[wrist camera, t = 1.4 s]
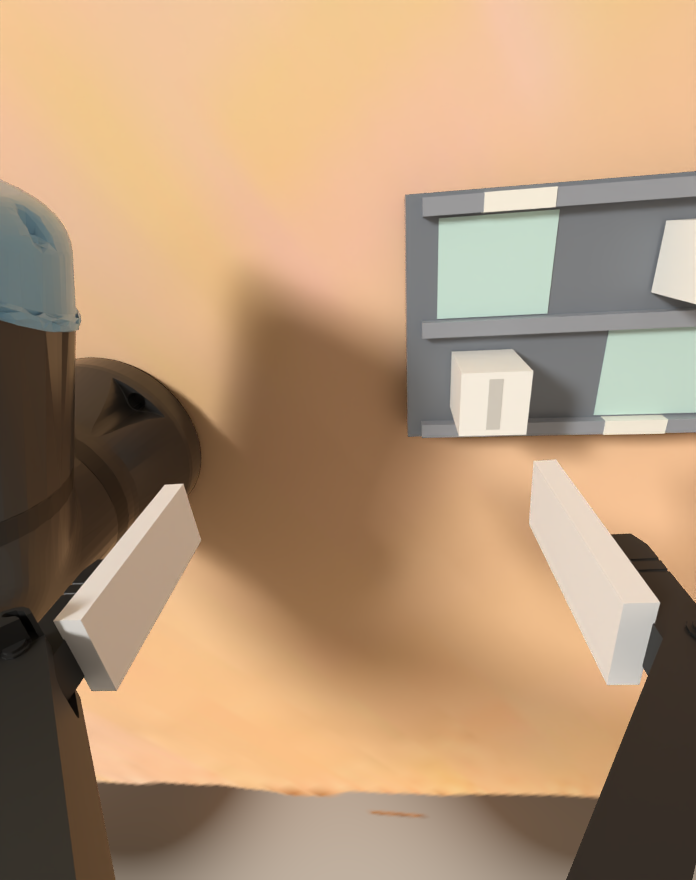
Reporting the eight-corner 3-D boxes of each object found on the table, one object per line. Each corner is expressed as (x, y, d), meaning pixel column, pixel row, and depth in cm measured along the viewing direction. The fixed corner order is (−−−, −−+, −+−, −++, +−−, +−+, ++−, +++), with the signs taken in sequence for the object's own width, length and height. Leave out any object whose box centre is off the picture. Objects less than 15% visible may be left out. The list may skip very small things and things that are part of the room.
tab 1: (449, 406, 32) (458, 436, 28) (451, 351, 30) (461, 373, 26) (507, 404, 32) (526, 434, 27) (512, 349, 30) (533, 371, 26)
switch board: (407, 425, 36) (408, 441, 33) (404, 196, 29) (405, 193, 26) (708, 418, 33) (734, 435, 30) (784, 166, 26) (826, 160, 24)
